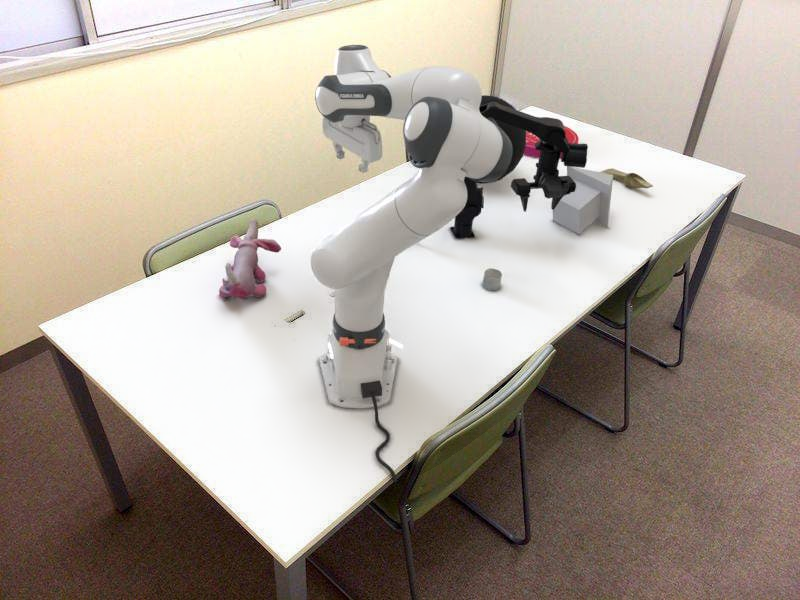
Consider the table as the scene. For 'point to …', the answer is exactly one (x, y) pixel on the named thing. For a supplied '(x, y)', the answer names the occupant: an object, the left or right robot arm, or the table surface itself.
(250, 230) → the toy
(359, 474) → the table surface
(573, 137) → the sign
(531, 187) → the right robot arm
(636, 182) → the tool
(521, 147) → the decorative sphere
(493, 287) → the tin
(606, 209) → the grey flanged block
